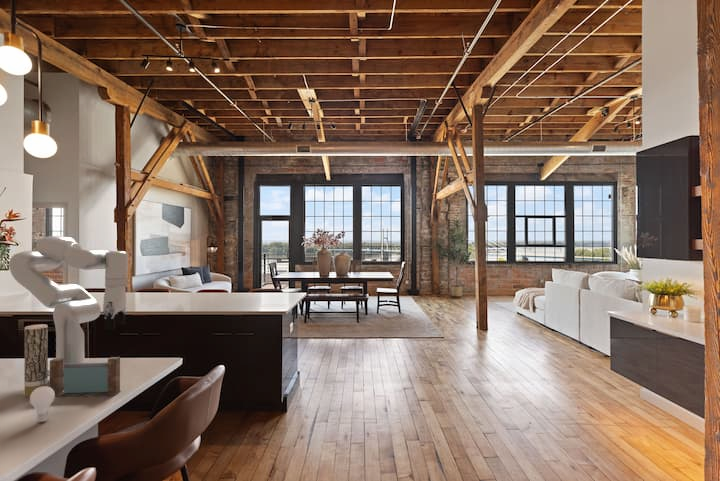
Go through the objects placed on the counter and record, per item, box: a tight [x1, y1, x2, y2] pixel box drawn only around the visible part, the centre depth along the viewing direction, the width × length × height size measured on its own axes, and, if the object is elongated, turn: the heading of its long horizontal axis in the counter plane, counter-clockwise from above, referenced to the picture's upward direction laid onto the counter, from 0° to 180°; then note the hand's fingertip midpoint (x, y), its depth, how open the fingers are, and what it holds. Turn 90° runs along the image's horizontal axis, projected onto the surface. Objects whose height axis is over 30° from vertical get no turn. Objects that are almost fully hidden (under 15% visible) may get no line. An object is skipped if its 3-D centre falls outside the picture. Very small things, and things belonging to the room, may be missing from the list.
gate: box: [63, 362, 108, 393], centre depth 163 cm, size 16×2×10 cm, turn 96°
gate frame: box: [49, 356, 122, 398], centre depth 163 cm, size 23×4×13 cm, turn 96°
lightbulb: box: [29, 386, 56, 424], centre depth 138 cm, size 6×6×11 cm
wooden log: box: [23, 323, 49, 399], centre depth 162 cm, size 7×7×25 cm
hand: (115, 326), depth 174 cm, fingers open, 9 cm apart
